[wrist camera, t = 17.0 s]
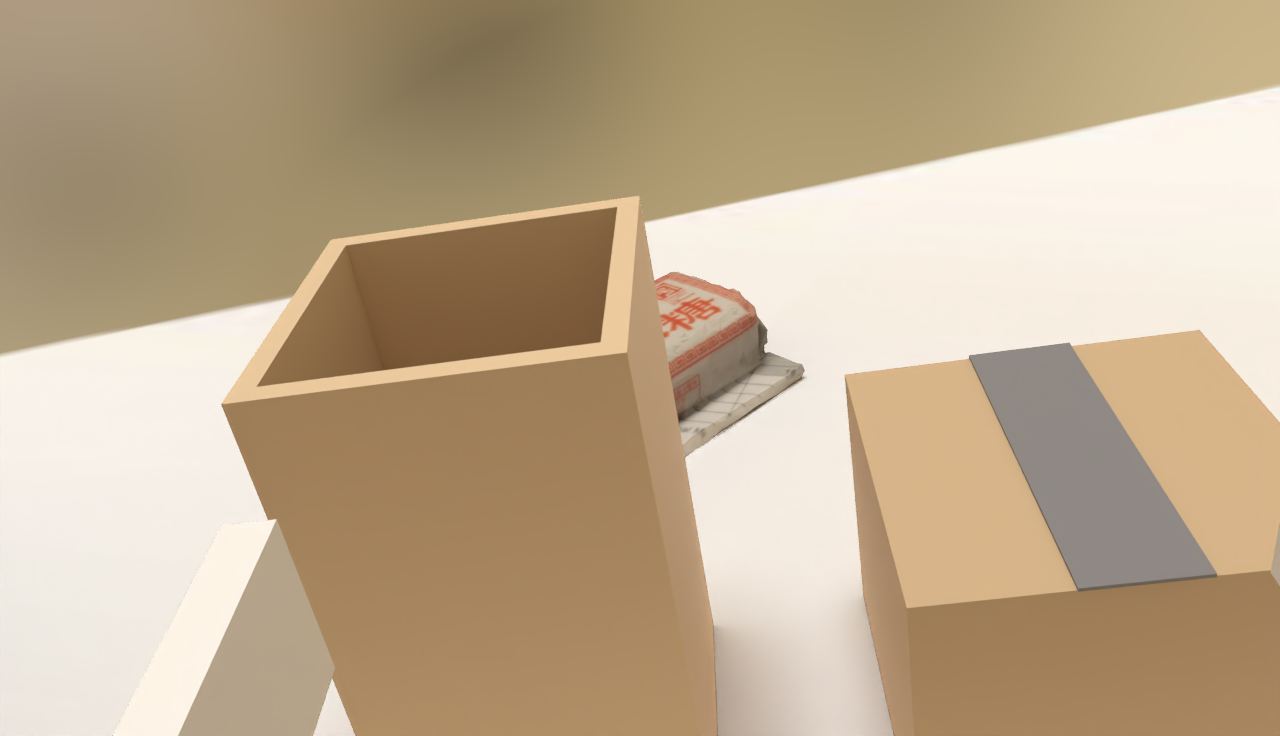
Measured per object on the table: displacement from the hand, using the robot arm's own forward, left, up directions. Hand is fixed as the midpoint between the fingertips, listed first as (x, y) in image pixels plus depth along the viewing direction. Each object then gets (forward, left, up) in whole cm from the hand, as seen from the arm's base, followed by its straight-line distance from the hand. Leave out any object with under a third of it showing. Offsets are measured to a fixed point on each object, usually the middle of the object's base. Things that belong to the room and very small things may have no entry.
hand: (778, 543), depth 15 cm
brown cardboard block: (+8, +13, -18) cm, 24 cm away
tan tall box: (-7, +13, -18) cm, 23 cm away
